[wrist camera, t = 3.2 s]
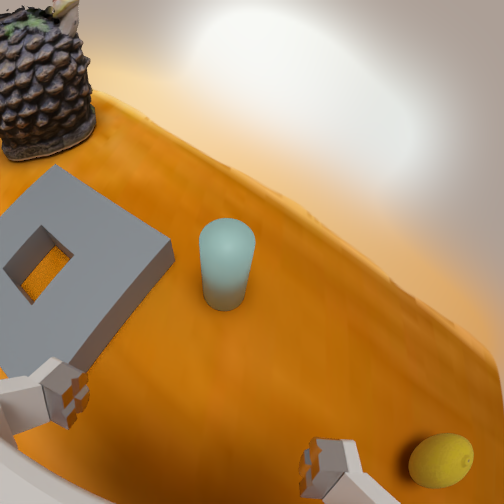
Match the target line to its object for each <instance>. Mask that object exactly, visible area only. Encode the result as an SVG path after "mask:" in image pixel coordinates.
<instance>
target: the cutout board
mask: <svg viewBox="0 0 504 504" xmlns="http://www.w3.org/2000/svg"><path fill="white" fill-rule="evenodd" d="M55 245H56V246H57V247H58V248H59V249H60V250H61V251H62V252H64V253H65V254H66V255H67V256H68V257H69V258H70V261H69V262H68V263H67V264H66V265H65V266H64V267H63V269H62V270H61V271H60V272H59V273H58V274H57V275H56V277H55V278H54V279H53V280H52V281H51V283H50V284H49V285H48V286H47V287H46V289H45V290H44V291H43V292H42V294H41V295H40V296H39V297H38V298H37V300H36V301H35V302H34V301H33V300H32V299H31V298H30V297H29V295H28V294H27V293H26V292H25V291H24V289H23V288H22V287H21V286H20V285H21V284H22V283H23V282H24V280H25V279H26V278H27V277H28V276H29V274H30V273H31V272H32V271H33V270H34V268H35V267H36V266H37V265H38V264H39V263H40V261H41V260H42V259H43V258H44V257H45V256H46V255H47V253H48V252H49V251H50V250H51V249H52V248H53V247H54V246H55ZM174 261H175V258H174V254H173V249H172V244H171V239H170V238H168V237H166V236H165V235H163V234H162V233H160V232H158V231H157V230H155V229H154V228H152V227H151V226H149V225H147V224H146V223H144V222H143V221H141V220H140V219H138V218H136V217H135V216H133V215H132V214H130V213H129V212H127V211H126V210H124V209H122V208H121V207H119V206H118V205H116V204H115V203H113V202H112V201H110V200H109V199H107V198H106V197H104V196H103V195H101V194H99V193H98V192H96V191H95V190H93V189H92V188H90V187H89V186H87V185H86V184H84V183H83V182H81V181H80V180H78V179H77V178H75V177H74V176H72V175H71V174H69V173H68V172H66V171H65V170H64V169H62V168H61V167H59V166H58V165H56V164H55V165H54V166H52V167H51V168H50V169H49V170H48V171H47V172H46V173H44V174H43V175H42V176H41V177H40V178H39V179H38V180H37V181H36V182H35V183H34V184H32V185H31V186H30V187H29V188H28V189H27V190H26V191H25V192H24V193H23V194H22V195H21V196H20V197H19V198H18V199H17V200H16V201H15V202H14V203H13V204H12V205H11V206H10V207H9V208H8V209H7V210H6V211H5V212H4V214H3V215H2V216H1V217H0V367H1V368H2V369H3V371H4V372H5V374H6V375H7V376H8V378H14V377H20V376H27V377H29V376H30V375H31V374H32V373H33V372H35V371H36V370H37V369H38V368H39V367H40V366H41V365H42V364H44V363H45V362H46V361H47V360H48V359H49V358H51V357H56V358H58V359H60V360H61V361H63V362H66V363H68V364H69V365H71V366H73V367H75V368H77V369H79V370H81V371H83V372H85V373H86V372H87V371H88V369H89V368H90V367H91V365H92V364H93V363H94V361H95V360H96V359H97V357H98V356H99V355H100V354H101V352H102V351H103V350H104V348H105V347H106V346H107V344H108V343H109V342H110V340H111V339H112V338H113V337H114V335H115V334H116V333H117V331H118V330H119V329H120V328H121V326H122V325H123V324H124V323H125V321H126V320H127V319H128V318H129V316H130V315H131V314H132V312H133V311H134V310H135V309H136V307H137V306H138V305H139V304H140V303H141V301H142V300H143V299H144V298H145V296H146V295H147V294H148V293H149V291H150V290H151V289H152V288H153V287H154V285H155V284H156V283H157V282H158V281H159V279H160V278H161V277H162V276H163V275H164V273H165V272H166V271H167V270H168V269H169V267H170V266H171V265H172V264H173V263H174Z"/></svg>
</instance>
